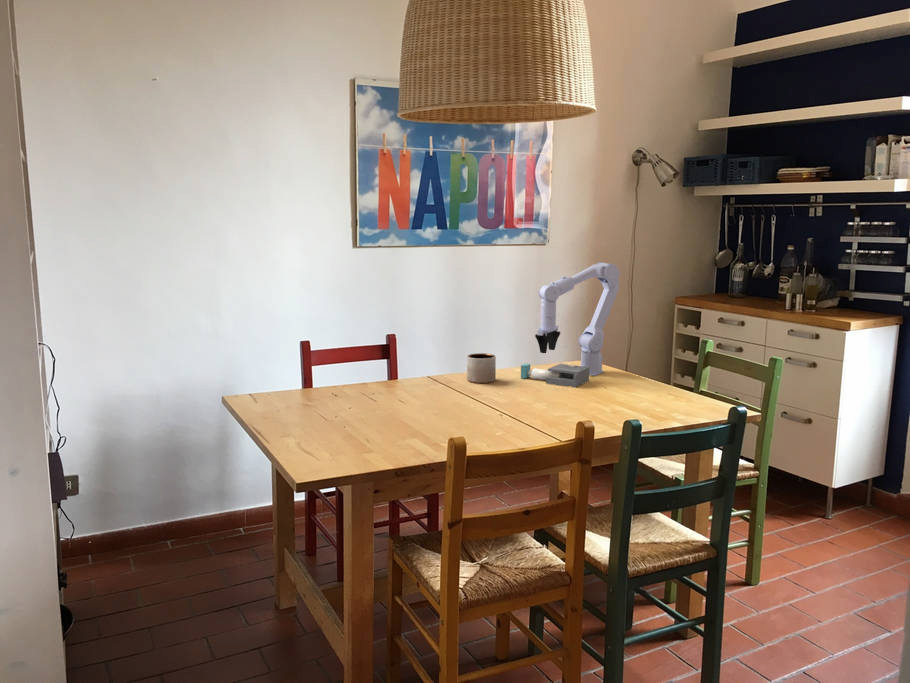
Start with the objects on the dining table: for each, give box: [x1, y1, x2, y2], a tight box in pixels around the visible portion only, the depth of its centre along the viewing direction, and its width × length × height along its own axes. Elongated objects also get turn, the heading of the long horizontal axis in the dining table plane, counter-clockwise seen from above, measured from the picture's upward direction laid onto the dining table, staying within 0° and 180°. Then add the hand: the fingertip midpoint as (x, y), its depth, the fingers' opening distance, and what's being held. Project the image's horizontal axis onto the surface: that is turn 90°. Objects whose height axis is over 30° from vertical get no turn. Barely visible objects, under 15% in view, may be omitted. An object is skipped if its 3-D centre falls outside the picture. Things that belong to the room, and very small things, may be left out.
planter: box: [466, 352, 497, 384], centre depth 300 cm, size 11×11×10 cm
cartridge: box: [520, 363, 562, 381], centre depth 302 cm, size 4×16×5 cm, turn 58°
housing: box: [545, 363, 590, 388], centre depth 298 cm, size 12×12×5 cm
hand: (547, 351), depth 307 cm, fingers open, 7 cm apart
